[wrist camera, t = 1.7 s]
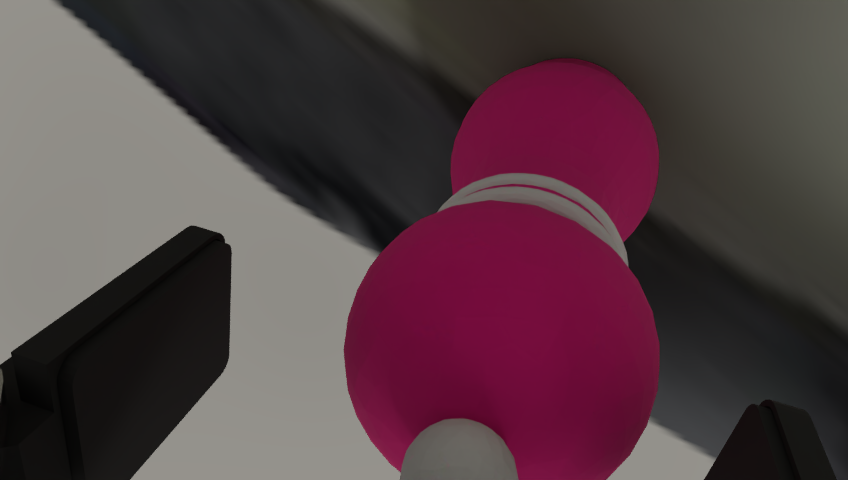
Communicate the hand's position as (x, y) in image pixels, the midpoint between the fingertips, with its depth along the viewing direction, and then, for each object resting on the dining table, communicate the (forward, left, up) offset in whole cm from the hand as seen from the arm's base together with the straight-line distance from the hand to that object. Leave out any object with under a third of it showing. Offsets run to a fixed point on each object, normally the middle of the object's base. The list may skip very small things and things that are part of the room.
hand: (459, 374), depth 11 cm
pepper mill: (-1, 0, -17) cm, 17 cm away
